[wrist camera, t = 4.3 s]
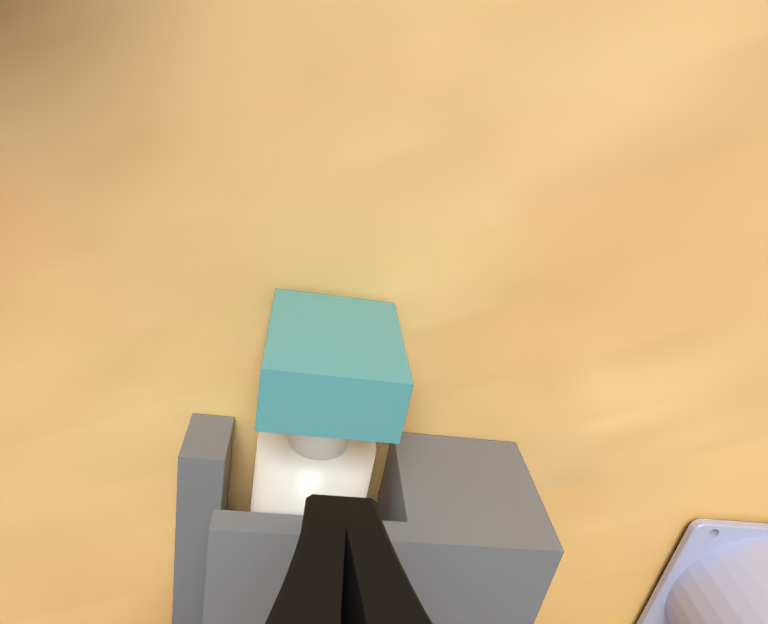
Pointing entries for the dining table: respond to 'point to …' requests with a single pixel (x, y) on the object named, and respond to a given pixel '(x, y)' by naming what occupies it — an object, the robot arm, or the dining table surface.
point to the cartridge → (326, 398)
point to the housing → (401, 520)
